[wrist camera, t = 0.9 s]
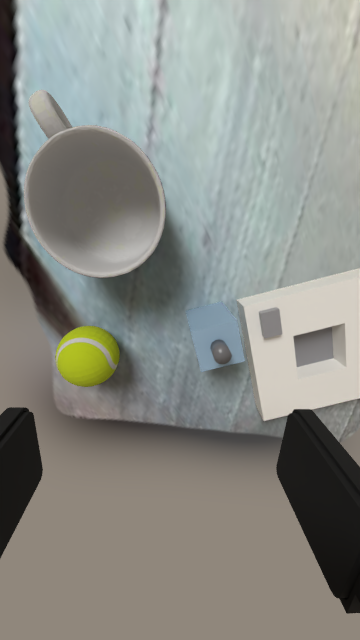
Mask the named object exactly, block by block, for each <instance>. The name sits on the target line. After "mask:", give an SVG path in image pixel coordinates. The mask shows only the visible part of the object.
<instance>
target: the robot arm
mask: <svg viewBox="0 0 360 640" xmlns="http://www.w3.org/2000/svg"><path fill="white" fill-rule="evenodd" d="M42 470H43V469H42V462H41V456H40V450H39V445H38V439H37V433H36V427H35V421H34V415H33V413H32V412H29V410H28V409H27V408H7V409H6V410H5V411H4V412H3V413H2V414H1V415H0V558H1V556H2V554H3V552H4V550H5V548H6V546H7V544H8V542H9V540H10V538H11V536H12V534H13V533H14V531H15V528H16V527H17V525H18V523H19V521H20V519H21V517H22V515H23V513H24V511H25V509H26V507H27V505H28V503H29V501H30V499H31V497H32V495H33V494H34V492H35V490H36V488H37V486H38V484H39V482H40V480H41V476H42ZM277 475H278V478H279V480H280V482H281V484H282V487H283V489H284V491H285V493H286V495H287V497H288V499H289V502H290V504H291V506H292V508H293V510H294V512H295V515H296V517H297V519H298V521H299V523H300V525H301V527H302V530H303V532H304V534H305V536H306V538H307V540H308V542H309V545H310V547H311V549H312V551H313V553H314V555H315V558H316V560H317V562H318V564H319V566H320V568H321V570H322V573H323V575H324V577H325V579H326V581H327V583H328V585H329V588H330V590H331V591H332V593H333V595H334V596H335V597H336V598H340V600H341V603H342V605H343V607H344V609H345V611H346V613H360V467H359V466H358V465H357V463H356V462H355V461H354V460H353V459H352V457H351V456H350V455H349V454H348V453H347V451H346V450H345V449H344V448H343V447H342V445H341V444H340V443H339V442H338V441H337V439H336V438H335V437H334V436H333V435H332V433H331V432H330V431H329V430H328V429H327V428H326V426H325V425H324V424H323V423H322V422H321V420H320V419H319V418H318V417H317V416H316V414H315V413H314V412H313V411H312V410H310V409H294V410H293V411H292V413H289V415H288V418H287V422H286V427H285V431H284V436H283V440H282V445H281V450H280V454H279V458H278V462H277Z"/></svg>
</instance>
